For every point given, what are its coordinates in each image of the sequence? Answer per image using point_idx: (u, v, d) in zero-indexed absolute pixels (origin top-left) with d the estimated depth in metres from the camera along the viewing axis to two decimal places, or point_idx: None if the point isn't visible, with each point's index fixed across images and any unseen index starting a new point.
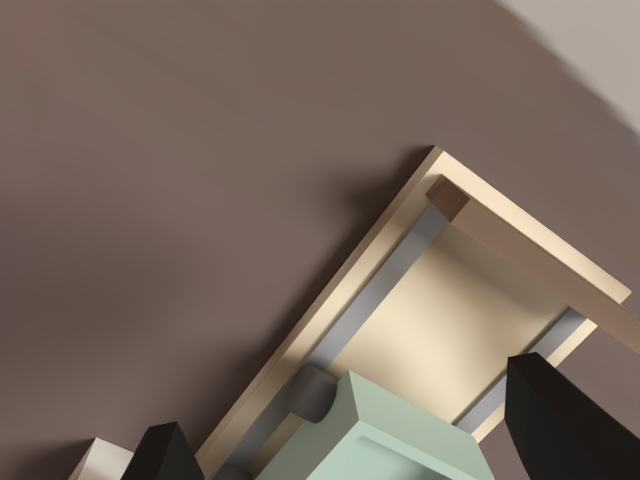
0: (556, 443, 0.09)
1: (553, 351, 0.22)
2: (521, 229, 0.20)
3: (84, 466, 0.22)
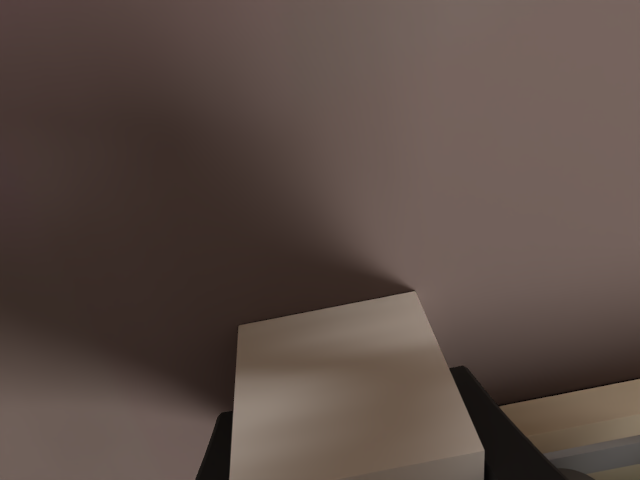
0: None
1: None
2: None
3: (438, 347, 0.09)
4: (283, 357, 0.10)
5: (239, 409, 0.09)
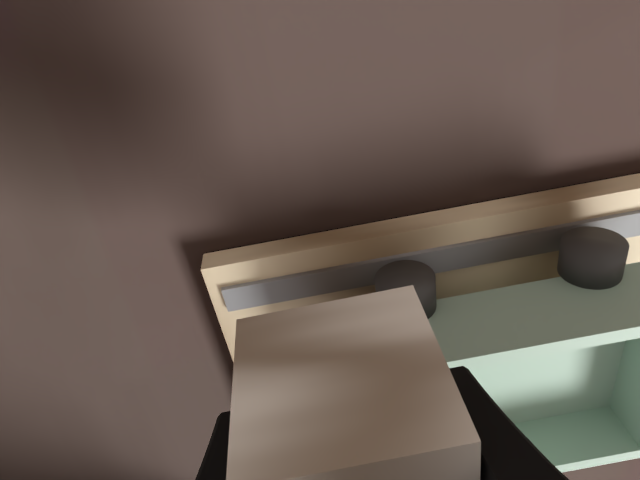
0: None
1: None
2: None
3: (435, 340, 0.09)
4: (280, 350, 0.10)
5: (237, 402, 0.09)
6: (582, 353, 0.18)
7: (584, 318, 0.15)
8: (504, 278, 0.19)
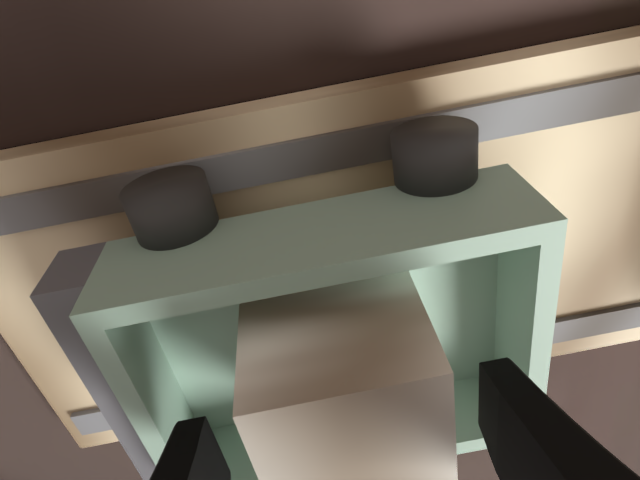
0: (522, 450, 0.09)
1: (617, 330, 0.17)
2: None
3: (418, 295, 0.11)
4: (279, 307, 0.11)
5: (242, 348, 0.10)
6: (439, 297, 0.13)
7: (402, 231, 0.10)
8: None
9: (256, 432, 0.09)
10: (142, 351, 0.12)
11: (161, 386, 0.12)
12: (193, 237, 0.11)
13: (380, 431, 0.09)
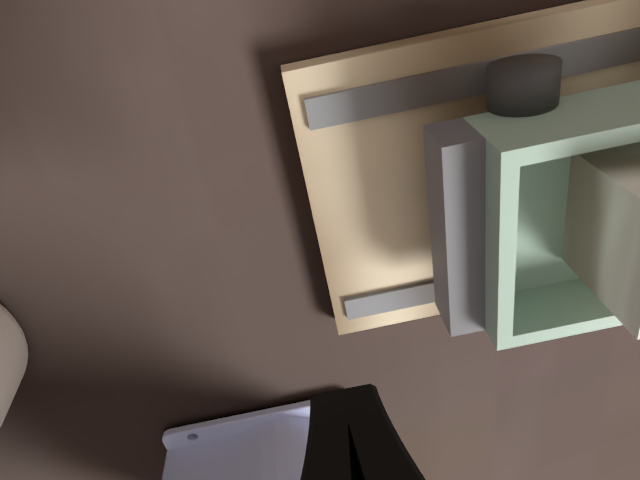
0: None
1: None
2: None
3: None
4: (629, 159, 0.14)
5: (624, 182, 0.13)
6: None
7: None
8: None
9: None
10: None
11: None
12: (553, 105, 0.14)
13: None
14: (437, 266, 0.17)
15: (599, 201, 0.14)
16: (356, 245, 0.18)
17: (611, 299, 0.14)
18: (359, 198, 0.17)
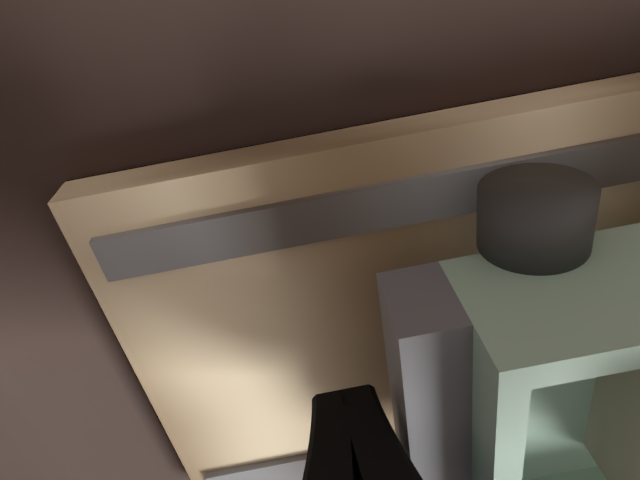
0: None
1: None
2: None
3: None
4: None
5: None
6: None
7: None
8: None
9: None
10: None
11: None
12: (585, 258, 0.08)
13: None
14: None
15: None
16: (212, 414, 0.13)
17: None
18: (205, 360, 0.12)
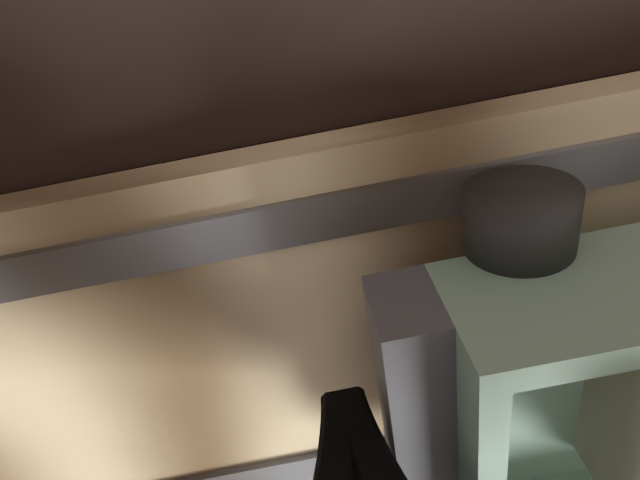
0: None
1: None
2: None
3: None
4: None
5: None
6: None
7: None
8: (356, 268, 0.11)
9: None
10: None
11: None
12: (570, 260, 0.08)
13: None
14: None
15: None
16: (21, 451, 0.13)
17: None
18: None
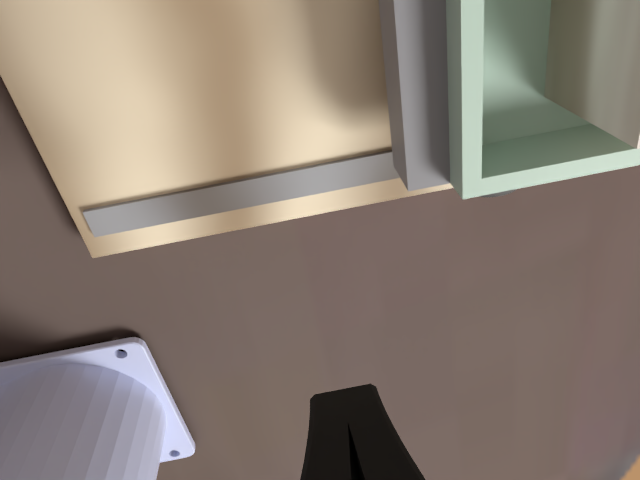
0: None
1: None
2: None
3: None
4: None
5: None
6: None
7: None
8: None
9: None
10: None
11: None
12: None
13: None
14: (392, 102, 0.14)
15: None
16: (79, 138, 0.15)
17: (604, 112, 0.11)
18: (63, 73, 0.14)
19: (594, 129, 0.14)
